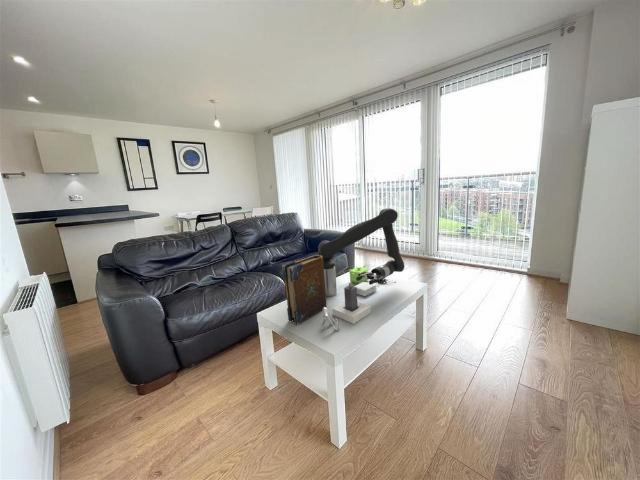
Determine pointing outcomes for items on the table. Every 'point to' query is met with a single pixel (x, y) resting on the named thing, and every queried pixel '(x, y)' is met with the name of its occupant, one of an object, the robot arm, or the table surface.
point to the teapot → (355, 273)
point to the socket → (350, 315)
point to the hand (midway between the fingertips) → (363, 280)
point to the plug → (351, 297)
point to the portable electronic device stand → (326, 317)
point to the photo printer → (365, 288)
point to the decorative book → (304, 288)
